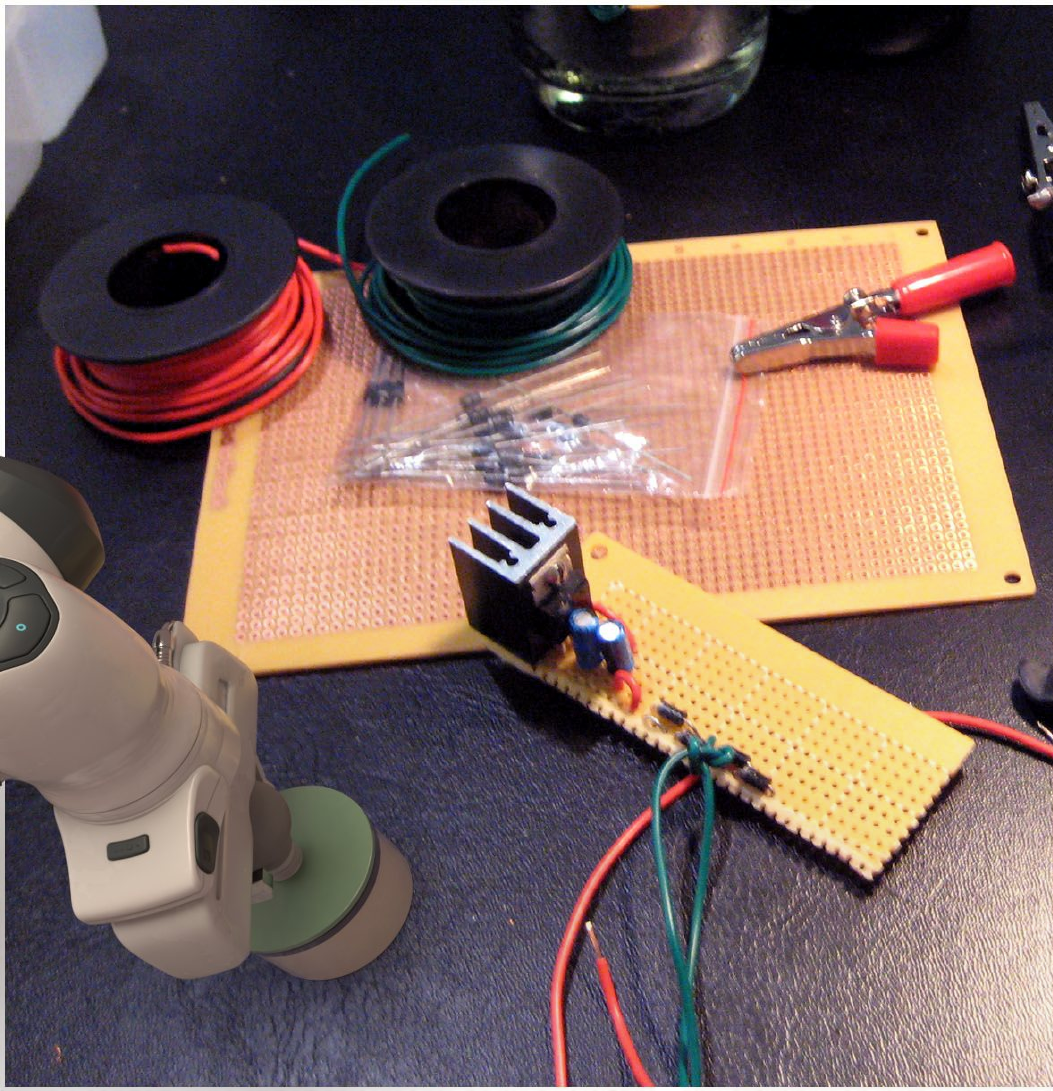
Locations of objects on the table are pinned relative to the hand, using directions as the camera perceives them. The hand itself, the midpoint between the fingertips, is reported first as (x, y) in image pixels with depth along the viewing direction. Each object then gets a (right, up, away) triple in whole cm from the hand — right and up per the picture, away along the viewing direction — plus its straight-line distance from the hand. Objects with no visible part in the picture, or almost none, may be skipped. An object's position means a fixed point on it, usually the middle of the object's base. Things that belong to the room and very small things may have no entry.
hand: (262, 845), depth 80 cm
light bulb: (0, -2, +3) cm, 4 cm away
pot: (0, -7, +10) cm, 12 cm away
